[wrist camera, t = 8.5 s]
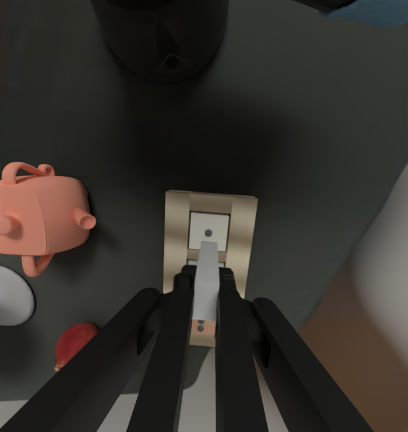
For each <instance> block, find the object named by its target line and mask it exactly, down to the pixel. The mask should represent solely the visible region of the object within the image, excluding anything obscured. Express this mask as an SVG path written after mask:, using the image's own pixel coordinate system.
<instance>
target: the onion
mask: <svg viewBox="0 0 408 432" xmlns="http://www.w3.org/2000/svg"><path fill="white" fill-rule="evenodd" d="M98 332H99V331H98V329H97V328H96V326H95V325H94V324H93V323H85V322H82V323H78V324H75V325H73V326H71V327H69V328H68V329H67V330H66V331H65V332H64V333H63V334H62V335H61V337H60V338H59V340H58V342H57V345H56V350H55V359H56V362H57V364H56V366H55V368H54V369H55V371H59V370H60V369H61V368H62V367H63V366H64V365H65V364H66V363H67V362H68V361H69V360H70V359H71V358H72V357H73V356H74V355H75V354H76V353H77V352H78V351H79V350H80V349H81V348H82V347H83V346H84V345H85V344H87V343H88V342H89V341H90V340H91V339H92V338H93V337H94V336H95V335H96V334H97V333H98Z"/></svg>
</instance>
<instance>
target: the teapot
mask: <svg viewBox="0 0 408 432" xmlns="http://www.w3.org/2000/svg"><path fill="white" fill-rule="evenodd" d="M19 168H21V169H24V170H26V171H28V172H30V173H32V174H34V176H19V177H16V173H17V171H18V169H19ZM54 175H55V172H54V169H53V168H52V167H51V166H50V165H47V164H41V165H40V166H39V167H38V169H37V168H35V167H33V166H31V165H29V164H26V163H22V162H13V163H10V164H8V165H7V166H6V167H5V168H4V170H3V173H2V180H0V253H2V254H11V255H21V256H22V265H23V269H24V272H25V273H26V275H27V276H29V277H36V276H38V275H40V274H41V273H42V272H43V271H44V270H45V269H46V267H47V266H48V264H49V263H50V261H51V259H52V258H53V256H54V254H55V253H58V252H62V251H66V250H69V249H72V248H75V247H77V246H79V245H81V244H83V243H84V242H85V241H86V239H87V238H88V236H89V233H90V229H91V228H93V227H94V226H95V225H96V219H95V217H94V216H92V215H91V214H90V209H89V203H88V199H87V196H88V192H87V190H86V189H85V188H84V185H83V183H82V182H81V181H79V180H77V179H74V178H71V177H63V176H54ZM40 255H42V256H41V257H40V259H39V260H38V261H37V262H36V263H35V261H34V256H40Z"/></svg>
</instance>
